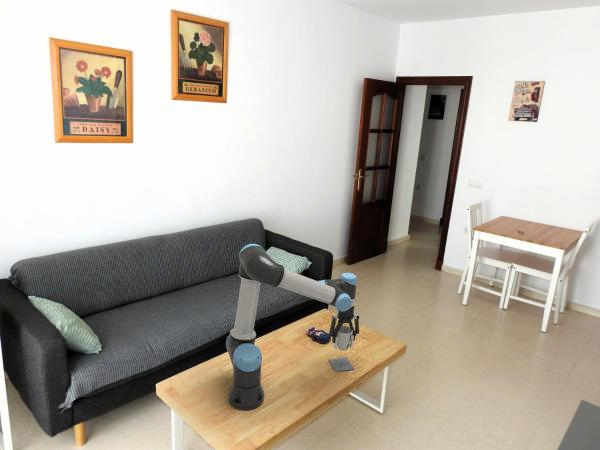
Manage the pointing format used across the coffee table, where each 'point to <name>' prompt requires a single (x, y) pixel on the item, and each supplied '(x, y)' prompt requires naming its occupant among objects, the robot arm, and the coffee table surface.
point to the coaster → (341, 364)
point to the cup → (344, 338)
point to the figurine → (318, 335)
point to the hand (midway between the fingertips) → (342, 347)
